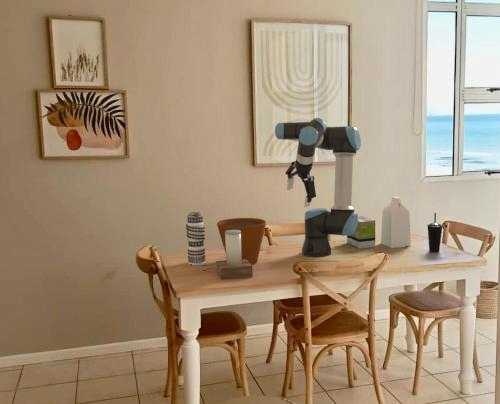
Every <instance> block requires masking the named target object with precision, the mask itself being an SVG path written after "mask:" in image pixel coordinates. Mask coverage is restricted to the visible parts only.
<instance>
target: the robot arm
mask: <svg viewBox="0 0 500 404" xmlns="http://www.w3.org/2000/svg"><path fill="white" fill-rule="evenodd" d="M274 136H275V138H276V139H277V140H283V141H284V140H288V141H294V142H298V144H297V151H296V157H295V160H294V161H292V162H291V165H290V166H289V167H288V168H287V170H286V171H284V172H285V175H286V176H287V185H286V186H287V188H286V190H287V191H290V190H292V189H293V188H294V183H295V176H298V177H299V178H300V179H301V182H302V183H303V185H304V186H303V187H304V189H305V193H306V195H305V198H304V204H303V207H304V208H308V207H310V206H311V202H312V200H313V199H314V198H316V197H317V192H316V185H315V176H314V175H311V174H310V173H311V171H312V169H313V164H314V159H315V152H316V149H320V150H325V151H332V154H333V156H334V157H335V162H334V163H335V165H334V166H335V167H334V190H333V191H334V194H333V195H334V196H333V197H334V198H333V206H331V207H330V211H329V209H328V208H327V207H318V208H311V209H308V210H306V211H305V212H304V219H303V220H304V241H303V244H302V248H301V254H302V255H304V256H305V257H316V258H317V257H327V256H330V255H331V254H332V248H331V244H330V241H329V239H328V238H329V235H333V236H342V237H344V236H346V237H347V236H351V235H353V234H354V232H355V230H356V228H357V224H358V217H359V215H358V213H357V212H355V208H354V207H353V205H352V200H353V199H352V197H353V196H352V194H353V172H354V170H353V169H354V157H355V156H356V155H357V151H359V150H360V149H361V145H362V144H361V143H362V141H361V135H360V132H359V130H358V128H357V127H356V126H327V124H326V122H325V120H323V119H322V118H321V117H314V118H313V119H311V120H310V121H300V122H299V121H298V122H297V121H295V122H278V123H276V125H275V127H274ZM294 170H295V171H294Z"/></svg>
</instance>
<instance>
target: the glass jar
mask: <svg viewBox="0 0 500 404" xmlns="http://www.w3.org/2000/svg"><path fill="white" fill-rule="evenodd" d="M225 242H226V253H225V260H226V264H227V265H232V266H234V265H240V264H242V254H241V231H240V230H227V231H225Z"/></svg>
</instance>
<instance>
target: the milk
mask: <svg viewBox="0 0 500 404" xmlns="http://www.w3.org/2000/svg"><path fill="white" fill-rule="evenodd" d="M381 213H382V214H381V231H380V232H381V233H380V234H381V235H380V244H381V245H384V246H386V247H389V248H390V249H392V248H394V249H396V248H404V247H405V246H408V247H411V246H412V245H411V244H412V243H411V241H412V240H411V222H410V221H411V219H410V216H411V215H410V214H411V213H410V211H409V210H408V208H406V207H405V206H404V205H403V204H402V202H401V197H397V196H391V200H390V202H389V203H388V204H387V205H386V206H385V207H384V208H383V209H382V212H381ZM395 247H396V248H395ZM405 248H406V247H405Z"/></svg>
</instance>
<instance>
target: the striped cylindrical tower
mask: <svg viewBox="0 0 500 404" xmlns="http://www.w3.org/2000/svg"><path fill="white" fill-rule="evenodd" d="M186 218H187V221H186V224H185V230H186V237H187V238H186V239H187V242H188V245H187V248H188V249H187V255H188V256H187V261H188V263H189V264H188V265H190V264H192V265H191V266H200V265H201V264H202V265H205V264H206V255H205V254H206V251H205V250H206V248H205V243H204V242H205V239H206V238H205V236H206V234H204V233H205V232H206V231H205V230H204V229H206V228H205V226H204V215H203V214H202V212H201V211H200V212H199V211H193V212H192V211H191V212H189V213H188V214H187V215H186ZM204 263H205V264H204Z"/></svg>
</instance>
